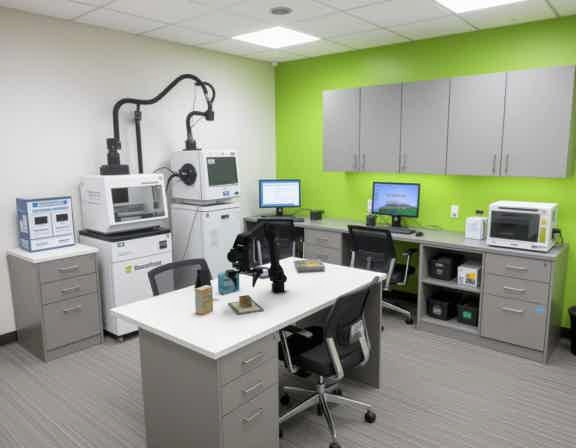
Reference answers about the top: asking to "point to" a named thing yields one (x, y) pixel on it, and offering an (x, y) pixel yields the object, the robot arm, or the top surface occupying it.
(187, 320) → the top surface
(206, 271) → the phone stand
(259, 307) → the slate pad
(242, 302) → the walnut cube
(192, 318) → the top surface
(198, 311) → the supplement box
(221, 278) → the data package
